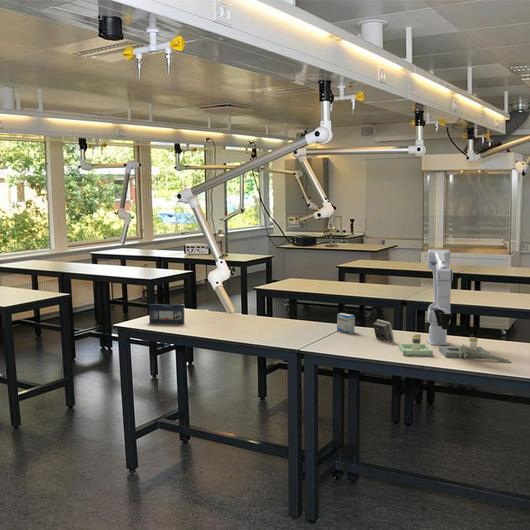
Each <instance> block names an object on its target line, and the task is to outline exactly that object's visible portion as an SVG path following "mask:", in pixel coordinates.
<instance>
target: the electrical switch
mask: <svg viewBox="0 0 530 530" xmlns="http://www.w3.org/2000/svg"><path fill="white" fill-rule="evenodd" d="M372 324H373V325H372V326H373V330H374V336H375V339H376V338H378V339H377V340H379V339H382V340H381V341H383V340H385V341H384V342H386V341H388V342H394V341H395V339H394V333H393V328H392V324H391V322H389V321H385V320H382V319H376V321H375V322H373V323H372ZM390 340H391V341H390Z"/></svg>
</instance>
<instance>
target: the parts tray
mask: <svg viewBox="0 0 530 530" xmlns="http://www.w3.org/2000/svg"><path fill="white" fill-rule="evenodd" d="M397 347H398V348H399V349H400V350H399V349H398V350H399V351H400V353H401V352H402V353H403V354H402V353H401V354H402V355H403V356H404V355H412V356H411V357H433V352H434V351H433V350H432V348H430V347H429V345H427V344H426V343H420V350H412V343H398V346H397Z"/></svg>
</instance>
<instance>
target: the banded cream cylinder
mask: <svg viewBox="0 0 530 530" xmlns="http://www.w3.org/2000/svg"><path fill="white" fill-rule="evenodd" d="M421 338H422V335H421V334H419V333H412V340H411V341H412V343H411V344H412V350H420V344H421Z"/></svg>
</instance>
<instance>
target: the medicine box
mask: <svg viewBox="0 0 530 530" xmlns="http://www.w3.org/2000/svg"><path fill="white" fill-rule="evenodd" d="M336 317H337V318H336V331H337V332H340V333H347V334H353V333H355V326H356V325H355V321H356V316H355V315H354V314H348V313H344V312H340V313H337V316H336Z"/></svg>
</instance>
